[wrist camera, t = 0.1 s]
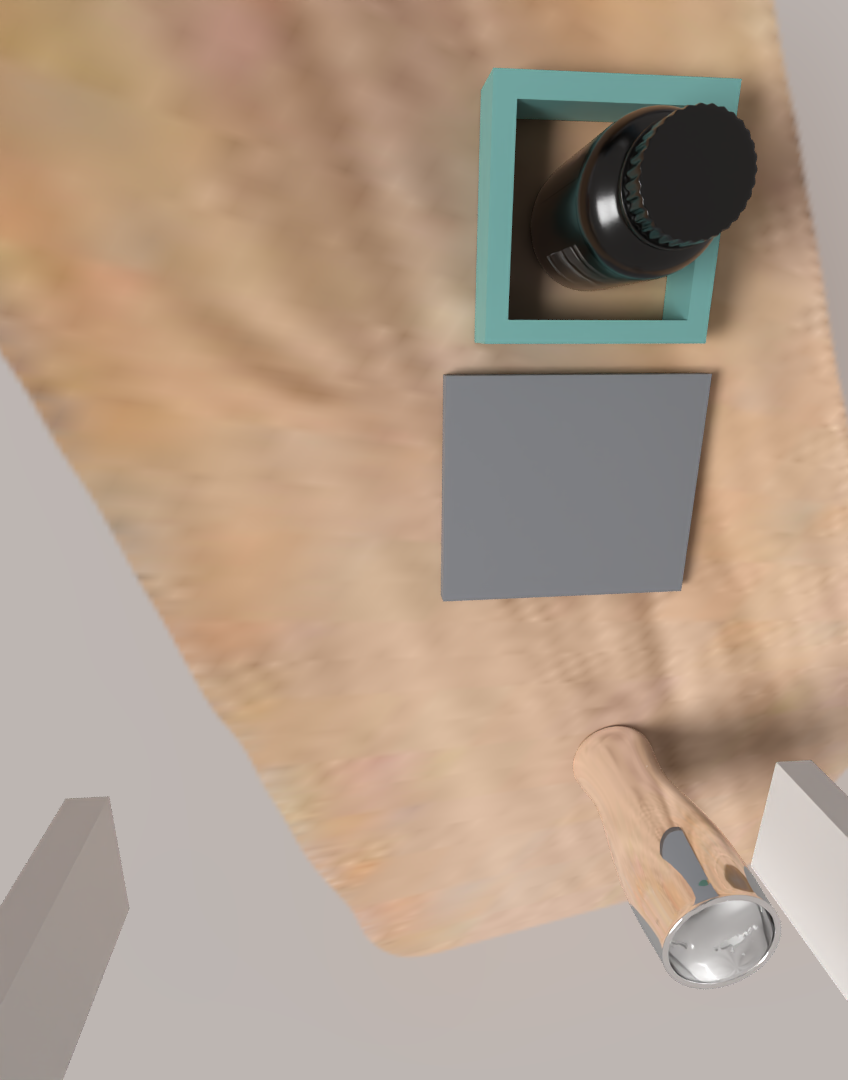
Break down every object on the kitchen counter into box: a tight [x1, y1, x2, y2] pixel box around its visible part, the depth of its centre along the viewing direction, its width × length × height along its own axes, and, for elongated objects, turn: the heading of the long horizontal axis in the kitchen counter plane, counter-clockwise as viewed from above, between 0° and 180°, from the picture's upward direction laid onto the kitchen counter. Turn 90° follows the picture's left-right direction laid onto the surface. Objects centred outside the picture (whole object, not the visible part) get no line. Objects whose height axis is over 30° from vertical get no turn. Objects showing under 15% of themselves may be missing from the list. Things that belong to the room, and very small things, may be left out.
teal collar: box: [475, 68, 742, 344], centre depth 34 cm, size 12×12×3 cm
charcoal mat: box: [441, 373, 712, 601], centre depth 39 cm, size 14×16×1 cm
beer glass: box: [573, 726, 781, 989], centre depth 40 cm, size 7×7×15 cm
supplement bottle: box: [531, 103, 757, 291], centre depth 30 cm, size 7×7×12 cm
